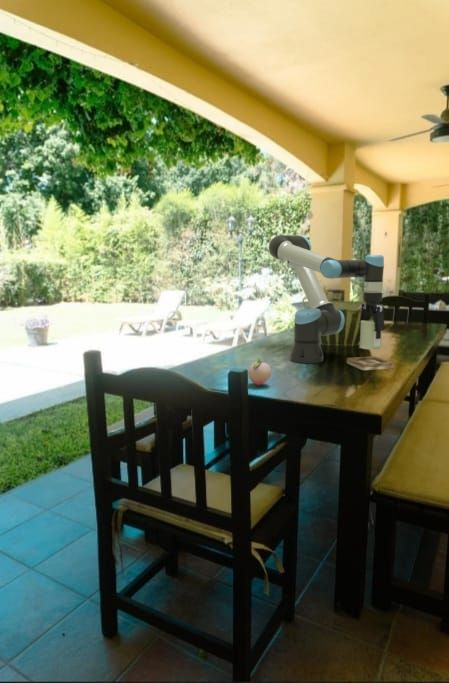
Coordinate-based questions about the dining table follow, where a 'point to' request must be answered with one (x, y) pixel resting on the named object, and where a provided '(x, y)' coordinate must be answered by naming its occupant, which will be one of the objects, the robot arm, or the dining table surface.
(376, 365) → the coaster board
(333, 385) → the dining table surface
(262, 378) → the decorative fruit
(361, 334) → the can
